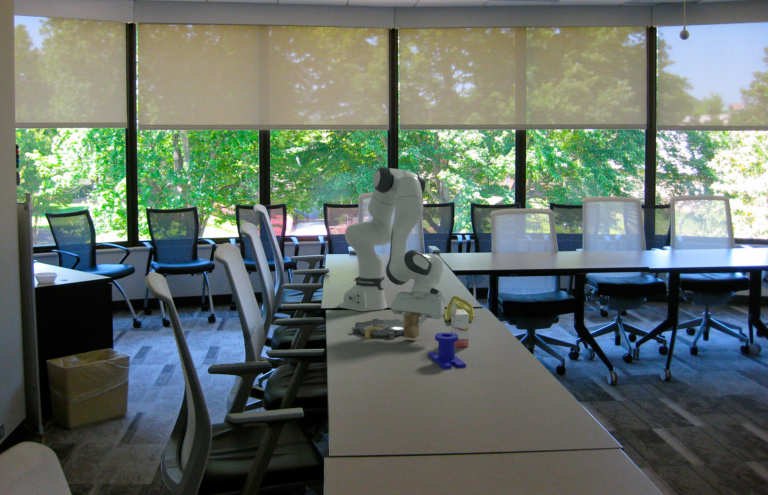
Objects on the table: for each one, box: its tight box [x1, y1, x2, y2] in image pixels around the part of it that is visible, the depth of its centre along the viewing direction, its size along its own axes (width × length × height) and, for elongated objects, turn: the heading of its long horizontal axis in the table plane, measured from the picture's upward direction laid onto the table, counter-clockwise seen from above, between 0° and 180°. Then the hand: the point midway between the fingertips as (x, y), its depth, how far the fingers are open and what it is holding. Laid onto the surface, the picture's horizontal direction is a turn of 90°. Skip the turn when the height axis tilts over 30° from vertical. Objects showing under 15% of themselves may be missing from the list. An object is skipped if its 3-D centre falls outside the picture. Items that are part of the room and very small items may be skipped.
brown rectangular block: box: [403, 313, 420, 340], centre depth 225 cm, size 4×4×8 cm
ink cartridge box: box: [450, 302, 470, 348], centre depth 220 cm, size 9×5×15 cm, turn 5°
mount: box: [427, 332, 467, 370], centre depth 200 cm, size 15×8×9 cm, turn 14°
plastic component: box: [444, 295, 476, 323], centre depth 262 cm, size 20×7×10 cm
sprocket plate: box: [351, 318, 404, 340], centre depth 239 cm, size 24×24×3 cm
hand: (410, 325), depth 224 cm, fingers closed on brown rectangular block, 4 cm apart
